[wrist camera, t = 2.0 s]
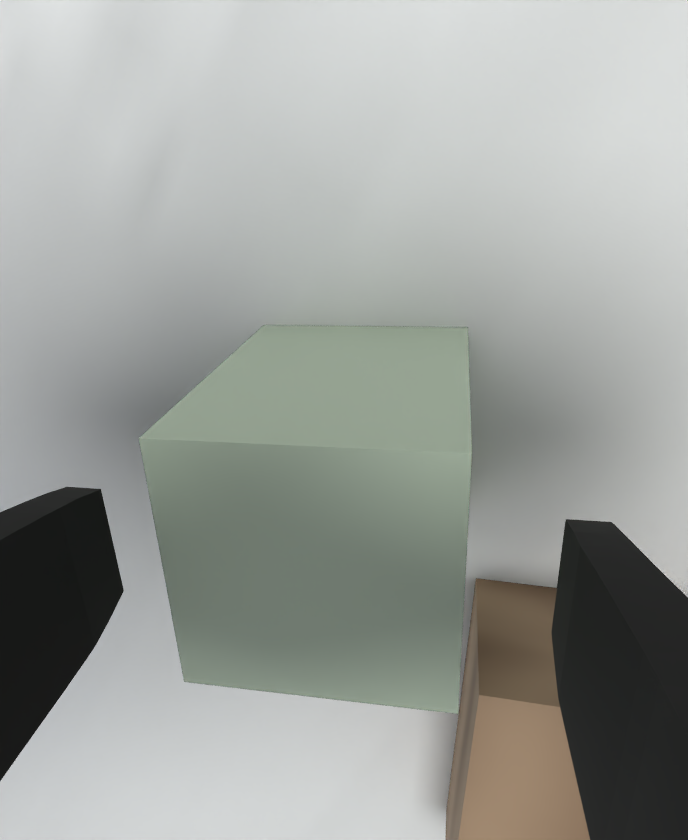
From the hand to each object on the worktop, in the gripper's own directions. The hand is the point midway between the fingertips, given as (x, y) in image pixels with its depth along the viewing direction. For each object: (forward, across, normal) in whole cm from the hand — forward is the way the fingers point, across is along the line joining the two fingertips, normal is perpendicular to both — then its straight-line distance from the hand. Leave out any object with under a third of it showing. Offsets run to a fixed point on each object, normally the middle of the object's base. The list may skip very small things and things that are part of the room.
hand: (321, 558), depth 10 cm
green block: (+5, 0, 0) cm, 5 cm away
